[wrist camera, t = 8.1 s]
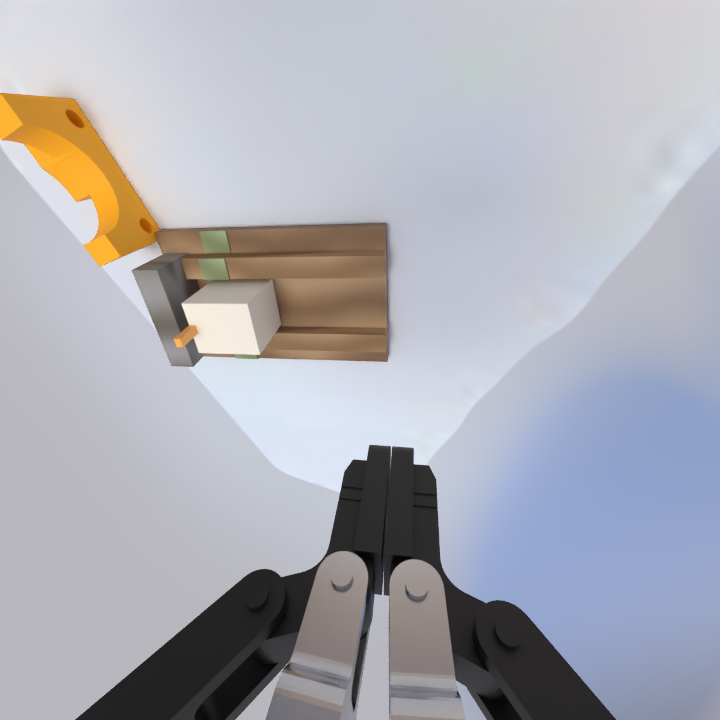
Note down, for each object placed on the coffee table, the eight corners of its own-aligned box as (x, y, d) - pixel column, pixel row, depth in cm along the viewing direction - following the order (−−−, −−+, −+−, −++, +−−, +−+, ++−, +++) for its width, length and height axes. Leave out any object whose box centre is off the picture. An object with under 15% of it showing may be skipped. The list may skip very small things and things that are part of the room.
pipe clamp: (43, 122, 31) (-36, 121, 26) (75, 99, 30) (0, 92, 24) (135, 251, 37) (86, 273, 31) (166, 236, 35) (120, 256, 30)
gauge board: (162, 229, 35) (117, 246, 29) (386, 223, 31) (379, 241, 26) (204, 350, 42) (174, 381, 37) (388, 355, 39) (383, 390, 34)
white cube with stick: (214, 278, 35) (164, 315, 28) (272, 278, 34) (234, 316, 27) (227, 323, 38) (184, 367, 31) (281, 324, 37) (249, 369, 30)
